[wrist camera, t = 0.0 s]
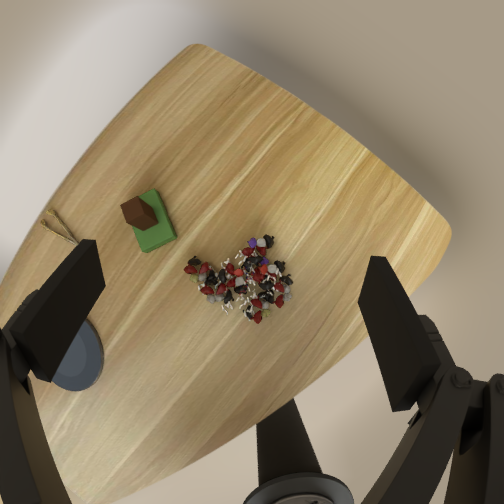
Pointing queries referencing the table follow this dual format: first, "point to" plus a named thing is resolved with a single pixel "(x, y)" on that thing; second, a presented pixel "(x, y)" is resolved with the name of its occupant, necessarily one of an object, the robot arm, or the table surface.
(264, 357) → the table surface
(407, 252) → the table surface
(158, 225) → the sponge brush
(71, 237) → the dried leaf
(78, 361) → the plate
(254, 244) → the dark lumpy cluster
